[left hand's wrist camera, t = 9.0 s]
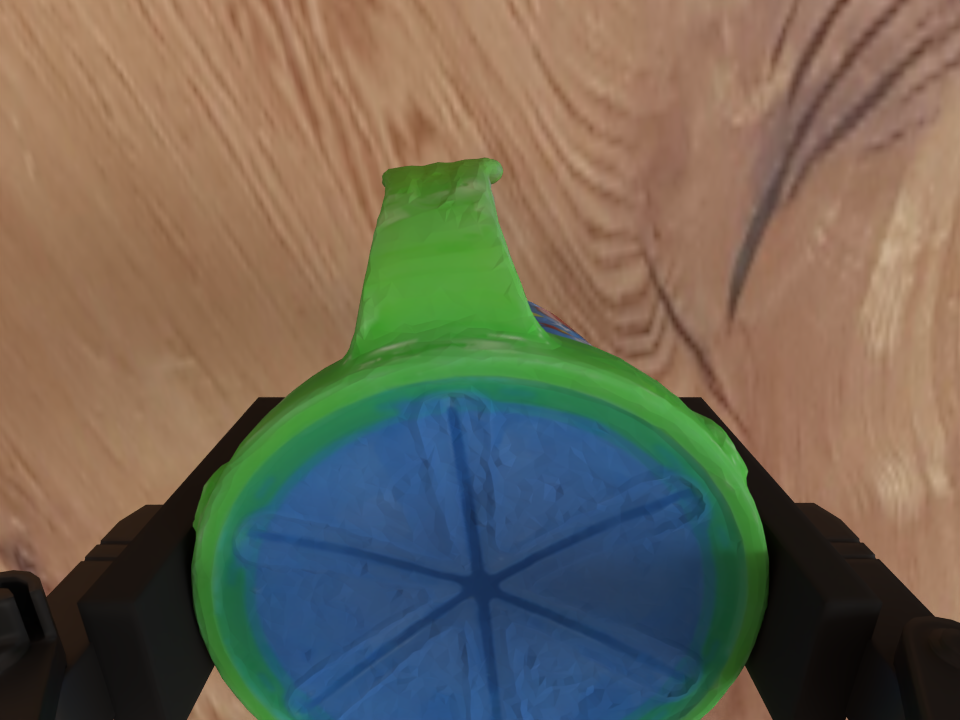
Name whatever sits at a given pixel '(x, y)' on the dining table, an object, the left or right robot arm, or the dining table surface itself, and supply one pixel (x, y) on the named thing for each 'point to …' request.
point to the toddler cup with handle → (476, 508)
